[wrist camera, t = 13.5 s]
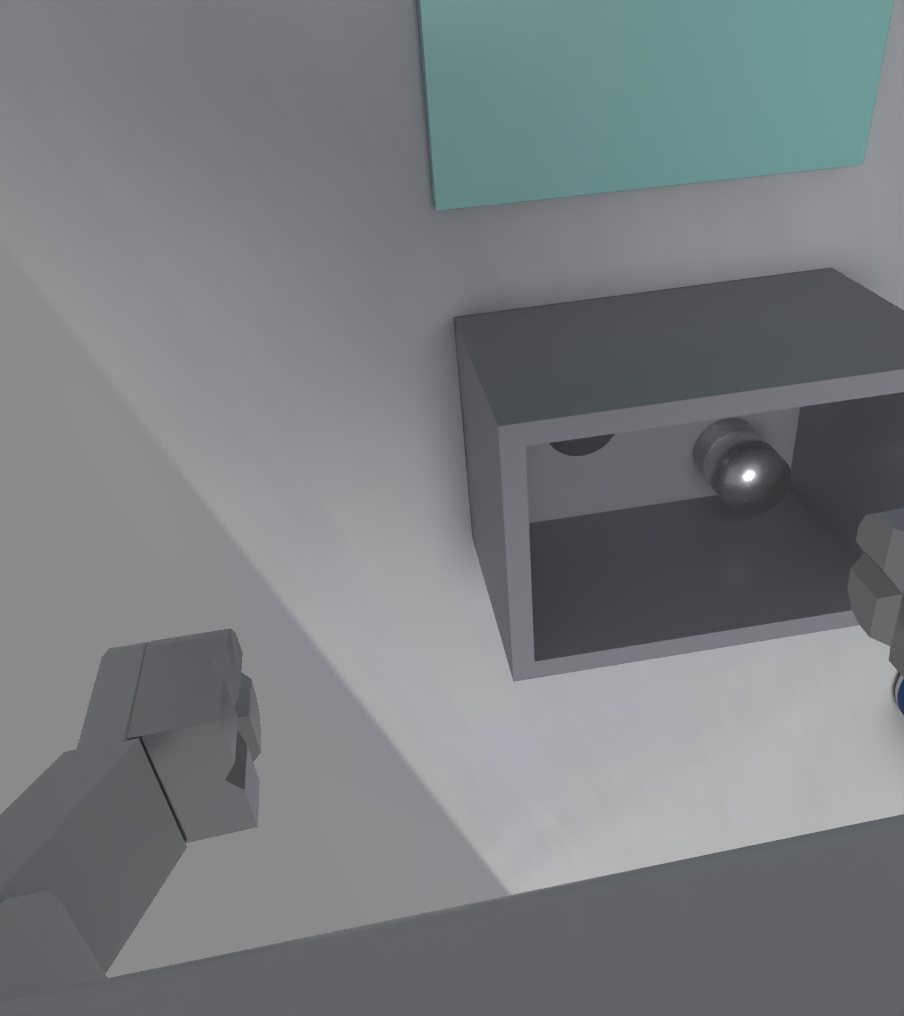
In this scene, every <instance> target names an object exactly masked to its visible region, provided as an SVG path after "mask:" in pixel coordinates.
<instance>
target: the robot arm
mask: <svg viewBox="0 0 904 1016" xmlns="http://www.w3.org/2000/svg"><path fill="white" fill-rule="evenodd" d="M856 542H857V543H858V545H859V546H860V547H861V549H862V550H863V551H864V553H863V554H862V556H861V557H860V558H859V559H858V560H857V561H856V562H855V564H854V565H853V566H852V567H851V568H850V574H849V581H848V588H847V590H848V595H849V600H850V605H851V609H852V611H853V613H854V615H855V617H856V619H857V621H858V623H859V625H860V626H861V627H862V628H863V630H864V631H865V632H866V633H867V635H868V636H869V637H871V638H873V639H875V640H878V641H880V642H882V643H884V644H886V645H889V646H890V655H889V661H890V662H891V663H892V665H893V666H894V667H895V668H896V669H897V671H898V672H899V673H900V674H901V675H902V676H903V678H904V508H900V509H894V510H889V511H883V512H878V513H873V514H867V515H865V517H864V518H863V520H862V521H861V523H860V524H859V528H858V532H857V537H856ZM241 668H242V650H241V647H240V644H239V642H238V639H237V636H236V633H235V632H234V631H233V630H232V629H224V630H218V631H212V632H206V633H199V634H193V635H187V636H180V637H174V638H167V639H162V640H155V641H151V642H145V643H139V644H133V645H128V646H121V647H115V648H109V649H108V650H107V652H106V653H105V654H104V655H103V656H102V659H101V662H100V666H99V670H98V673H97V677H96V681H95V684H94V688H93V692H92V695H91V699H90V703H89V706H88V710H87V713H86V717H85V721H84V724H83V728H82V732H81V736H80V739H79V743H78V747H77V750H72V751H67V752H64V753H63V754H62V755H61V756H60V757H59V758H58V759H57V760H56V761H55V762H54V763H53V764H52V765H51V766H50V767H49V768H48V769H47V770H46V771H44V772H43V773H42V774H41V775H40V776H39V777H38V778H37V779H36V780H35V781H34V782H33V783H32V784H31V785H30V786H29V787H28V788H27V789H26V790H25V791H24V792H23V793H22V794H21V795H20V796H19V797H18V798H17V799H16V800H15V801H14V802H13V803H12V804H11V805H10V806H9V807H8V808H7V809H6V810H5V811H4V812H3V813H2V814H1V815H0V1016H904V814H903V815H898V816H893V817H888V818H883V819H878V820H874V821H869V822H864V823H859V824H854V825H849V826H844V827H840V828H835V829H830V830H825V831H820V832H815V833H810V834H806V835H801V836H796V837H791V838H786V839H781V840H776V841H772V842H767V843H762V844H757V845H752V846H747V847H742V848H738V849H733V850H728V851H723V852H718V853H713V854H708V855H704V856H699V857H694V858H689V859H684V860H679V861H674V862H670V863H665V864H660V865H655V866H650V867H645V868H640V869H636V870H631V871H626V872H621V873H616V874H611V875H607V876H602V877H597V878H592V879H587V880H582V881H577V882H573V883H568V884H563V885H558V886H553V887H548V888H543V889H539V890H534V891H529V892H524V893H519V894H514V895H509V896H505V897H500V898H495V899H491V900H485V901H480V902H475V903H471V904H466V905H461V906H456V907H451V908H446V909H442V910H437V911H432V912H427V913H422V914H418V915H412V916H408V917H403V918H398V919H393V920H389V921H384V922H379V923H374V924H369V925H364V926H359V927H354V928H350V929H344V930H340V931H335V932H330V933H325V934H321V935H315V936H311V937H306V938H301V939H296V940H291V941H286V942H281V943H277V944H272V945H267V946H262V947H258V948H252V949H247V950H243V951H238V952H233V953H228V954H223V955H219V956H213V957H209V958H204V959H199V960H194V961H189V962H185V963H180V964H175V965H170V966H165V967H160V968H155V969H150V970H146V971H141V972H136V973H131V974H126V975H121V976H117V977H112V978H107V977H106V975H105V974H106V972H107V971H108V969H109V968H110V966H111V965H112V963H113V961H114V960H115V958H116V957H117V955H118V954H119V952H120V950H121V949H122V947H123V946H124V944H125V943H126V941H127V940H128V938H129V936H130V935H131V933H132V932H133V930H134V929H135V927H136V926H137V924H138V923H139V921H140V919H141V918H142V916H143V915H144V913H145V912H146V910H147V909H148V907H149V905H150V904H151V902H152V901H153V899H154V898H155V896H156V895H157V893H158V891H159V890H160V888H161V887H162V885H163V884H164V882H165V881H166V879H167V877H168V876H169V874H170V873H171V871H172V870H173V868H174V866H175V865H176V863H177V862H178V860H179V859H180V857H181V856H182V854H183V853H184V851H185V849H186V848H187V846H186V843H188V842H192V841H197V840H201V839H205V838H210V837H214V836H219V835H224V834H228V833H233V832H237V831H242V830H246V829H250V828H255V827H258V808H259V807H258V806H259V786H260V781H259V778H258V775H257V772H256V769H255V766H254V763H253V762H254V760H255V759H256V758H257V757H258V755H259V754H260V753H261V725H260V715H259V708H258V703H257V698H256V694H255V690H254V687H253V684H252V680H251V678H249V677H248V676H246V675H245V674H243V673H242V672H241Z"/></svg>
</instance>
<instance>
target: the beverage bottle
mask: <svg viewBox="0 0 904 1016" xmlns="http://www.w3.org/2000/svg"><path fill="white" fill-rule="evenodd" d="M895 699H896V703H897V705H898V707H899V709H900V711H901V712H902V713H903V715H904V678H903V676H902V675H901V674H900V676H899V678H898V681H897V684H896V688H895Z"/></svg>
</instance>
